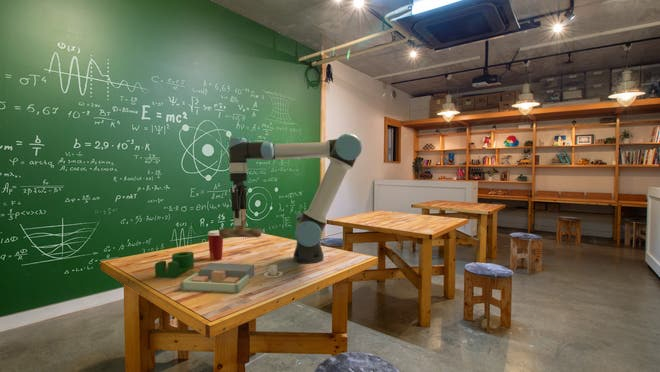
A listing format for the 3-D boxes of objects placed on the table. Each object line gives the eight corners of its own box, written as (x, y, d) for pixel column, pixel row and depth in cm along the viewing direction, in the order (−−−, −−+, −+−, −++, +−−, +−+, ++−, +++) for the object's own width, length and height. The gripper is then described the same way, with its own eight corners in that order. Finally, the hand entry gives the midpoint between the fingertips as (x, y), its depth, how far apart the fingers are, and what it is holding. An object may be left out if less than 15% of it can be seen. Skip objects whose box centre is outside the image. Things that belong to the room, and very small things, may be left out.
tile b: (225, 270, 127) (222, 272, 125) (225, 281, 127) (222, 284, 125) (214, 270, 128) (211, 272, 125) (214, 281, 128) (211, 283, 125)
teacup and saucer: (268, 271, 144) (268, 262, 144) (285, 272, 142) (285, 263, 142) (260, 277, 135) (260, 268, 135) (279, 278, 134) (278, 269, 134)
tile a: (233, 281, 120) (233, 288, 121) (238, 277, 125) (238, 284, 125) (222, 281, 121) (222, 287, 121) (227, 277, 125) (227, 283, 126)
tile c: (202, 280, 122) (202, 286, 122) (208, 276, 126) (208, 282, 126) (191, 279, 122) (191, 286, 122) (197, 276, 127) (197, 282, 127)
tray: (249, 282, 128) (249, 275, 128) (237, 293, 117) (237, 284, 117) (196, 280, 131) (196, 272, 131) (180, 290, 120) (180, 282, 120)
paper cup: (226, 257, 165) (226, 230, 164) (220, 261, 157) (219, 233, 157) (212, 256, 166) (211, 229, 165) (204, 261, 158) (204, 232, 157)
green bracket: (179, 264, 153) (179, 251, 152) (197, 265, 152) (197, 251, 151) (155, 277, 135) (154, 262, 134) (175, 278, 134) (175, 262, 133)
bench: (254, 275, 137) (254, 264, 137) (246, 282, 128) (246, 271, 128) (210, 273, 140) (210, 262, 140) (199, 280, 131) (198, 269, 131)
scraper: (261, 235, 146) (260, 209, 146) (258, 237, 143) (257, 210, 142) (223, 235, 148) (222, 209, 148) (219, 237, 144) (218, 210, 144)
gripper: (237, 172, 153) (239, 221, 154) (222, 172, 136) (223, 227, 137) (253, 172, 152) (254, 221, 153) (239, 172, 135) (240, 227, 136)
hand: (240, 224), depth 145 cm, fingers closed on scraper, 4 cm apart
